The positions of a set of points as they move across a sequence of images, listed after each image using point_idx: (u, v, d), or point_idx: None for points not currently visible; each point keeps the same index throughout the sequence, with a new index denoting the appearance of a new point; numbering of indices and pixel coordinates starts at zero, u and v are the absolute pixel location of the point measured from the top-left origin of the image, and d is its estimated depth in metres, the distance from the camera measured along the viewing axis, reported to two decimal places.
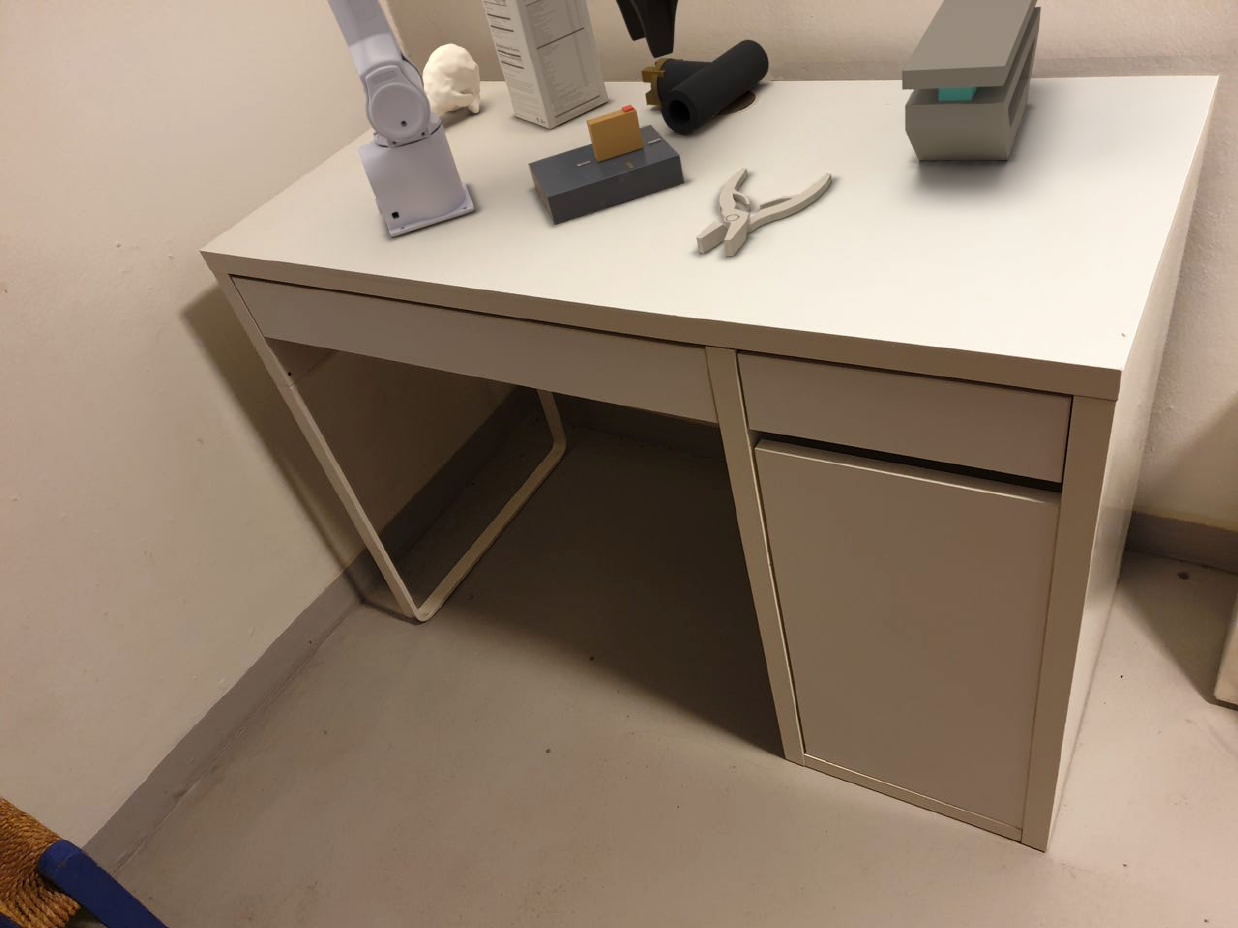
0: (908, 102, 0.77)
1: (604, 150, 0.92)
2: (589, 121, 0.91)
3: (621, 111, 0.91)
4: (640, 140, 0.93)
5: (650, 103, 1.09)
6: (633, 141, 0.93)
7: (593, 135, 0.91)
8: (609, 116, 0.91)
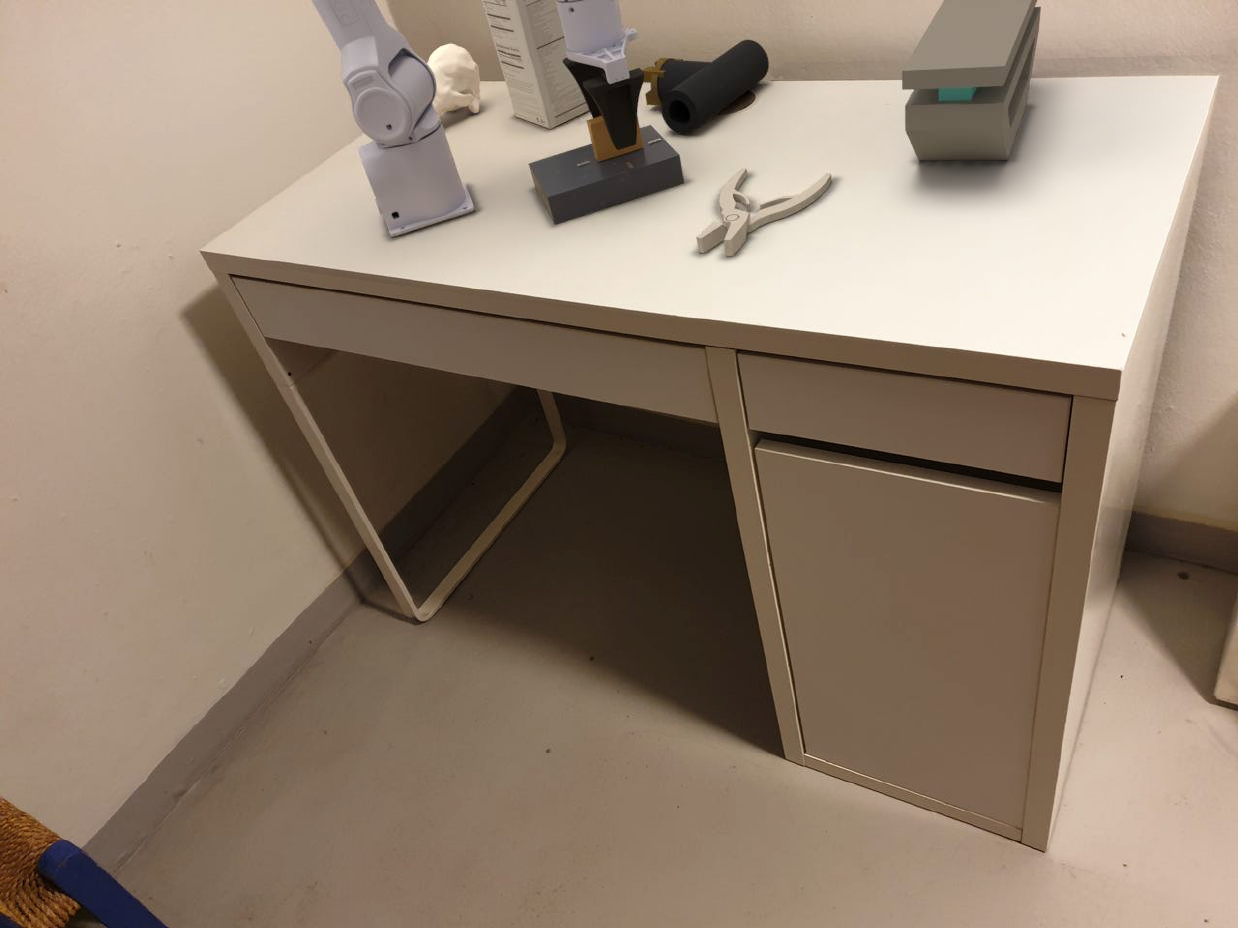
0: (908, 102, 0.77)
1: (604, 150, 0.92)
2: (589, 121, 0.91)
3: None
4: (640, 140, 0.93)
5: (650, 103, 1.09)
6: None
7: (593, 135, 0.91)
8: None
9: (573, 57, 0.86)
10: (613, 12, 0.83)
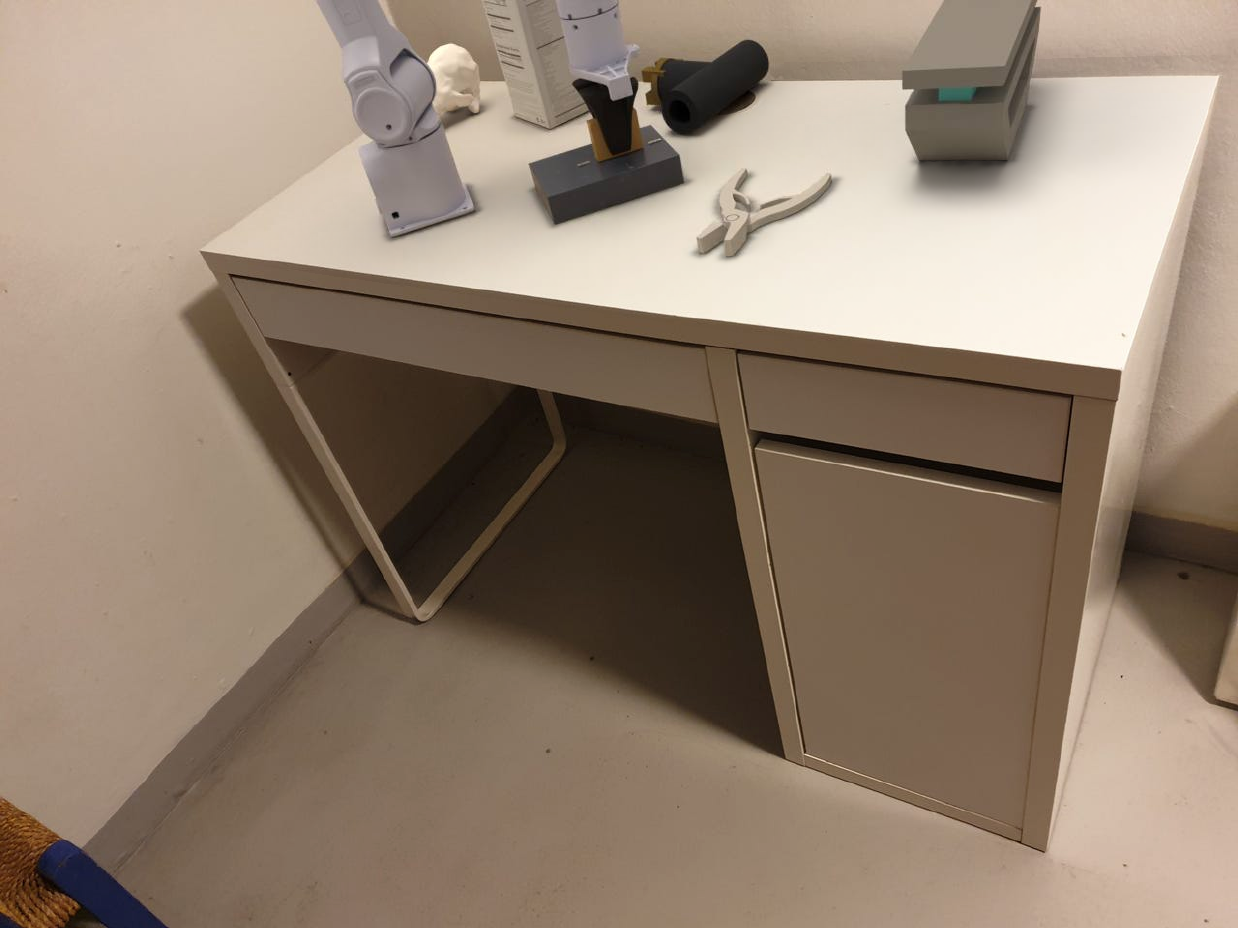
0: (908, 102, 0.77)
1: (604, 150, 0.92)
2: (589, 121, 0.91)
3: None
4: (640, 140, 0.93)
5: (650, 103, 1.09)
6: (633, 141, 0.93)
7: (593, 135, 0.91)
8: None
9: (577, 73, 0.86)
10: (617, 29, 0.84)
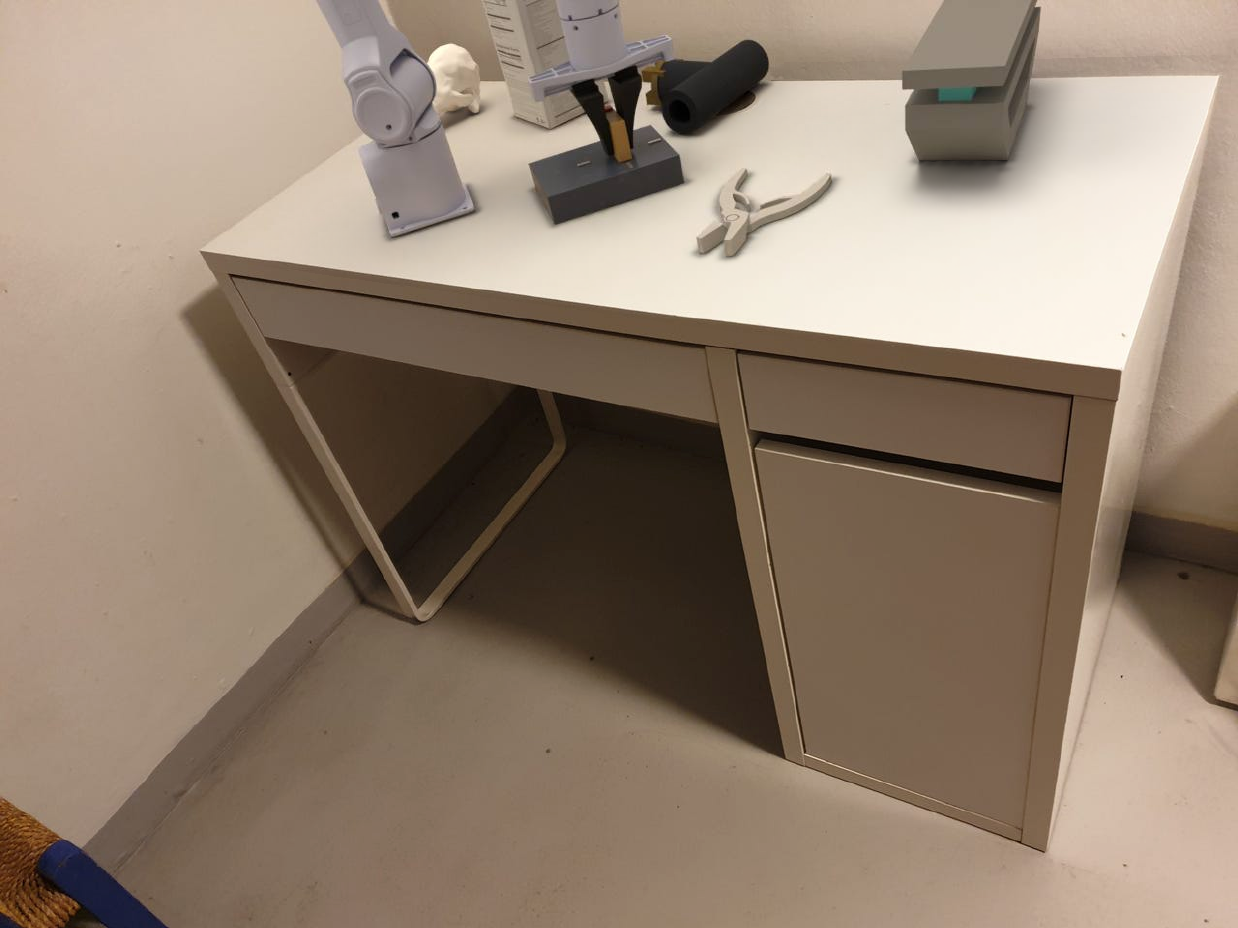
0: (908, 102, 0.77)
1: None
2: (616, 122, 0.89)
3: (607, 112, 0.92)
4: None
5: (650, 103, 1.09)
6: None
7: (626, 131, 0.90)
8: (613, 115, 0.91)
9: (621, 65, 0.86)
10: None
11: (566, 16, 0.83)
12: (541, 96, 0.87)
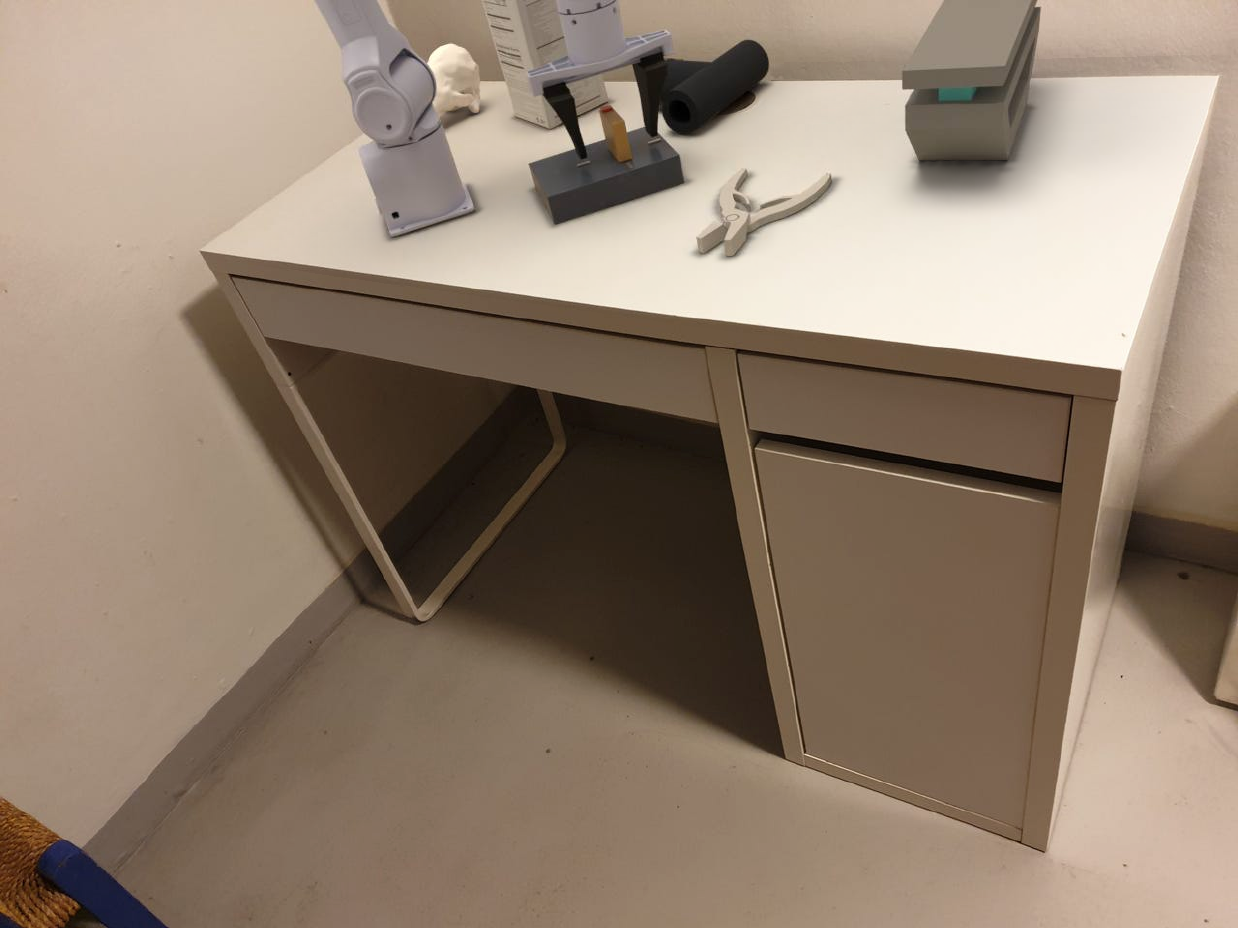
0: (908, 102, 0.77)
1: None
2: (616, 122, 0.89)
3: (607, 112, 0.92)
4: None
5: None
6: None
7: (626, 131, 0.90)
8: (613, 115, 0.91)
9: (620, 59, 0.86)
10: None
11: (565, 10, 0.83)
12: (539, 90, 0.87)
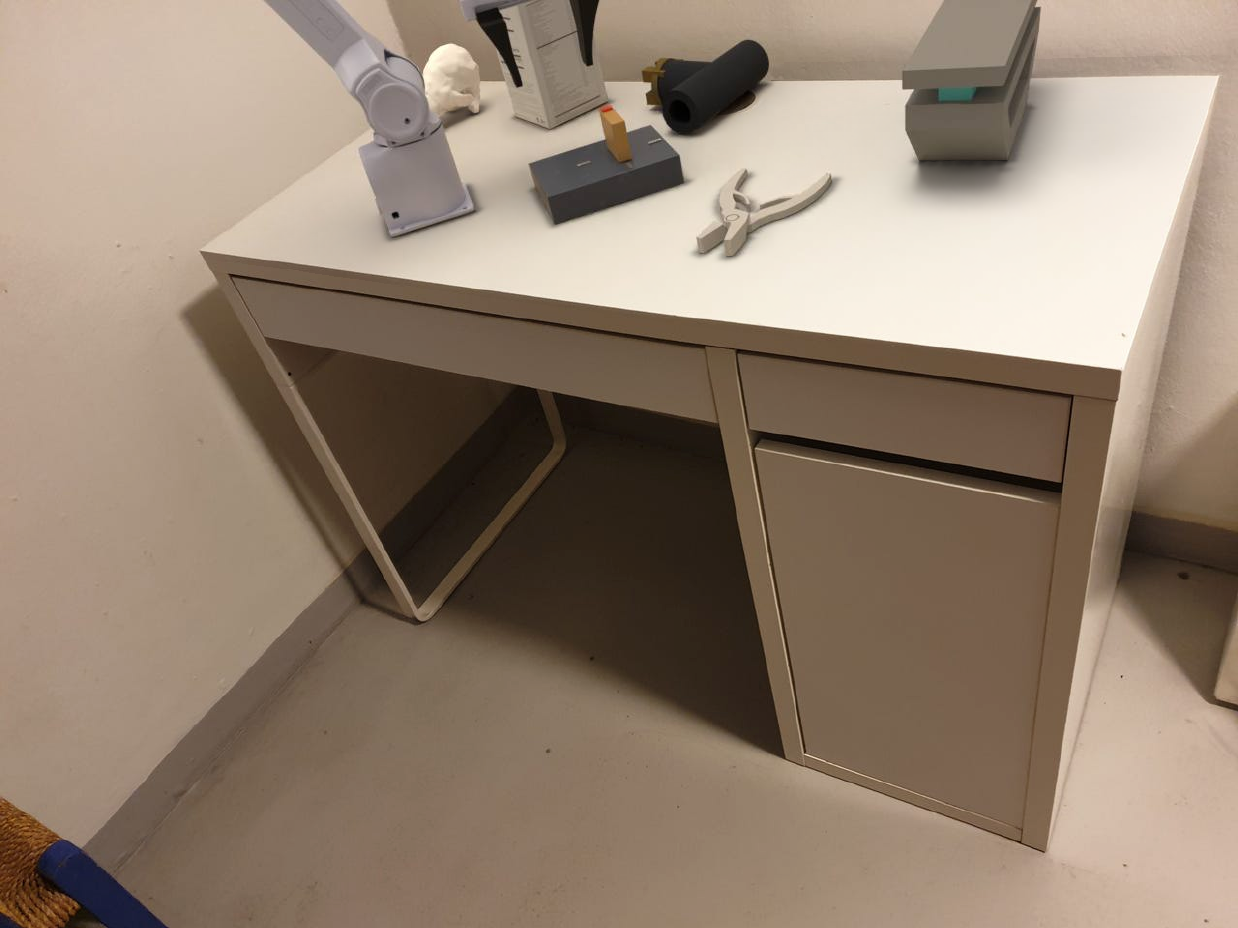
0: (908, 102, 0.77)
1: None
2: (616, 122, 0.89)
3: (607, 112, 0.92)
4: None
5: (650, 103, 1.09)
6: None
7: (626, 131, 0.90)
8: (613, 115, 0.91)
9: None
10: None
11: None
12: (472, 15, 0.88)
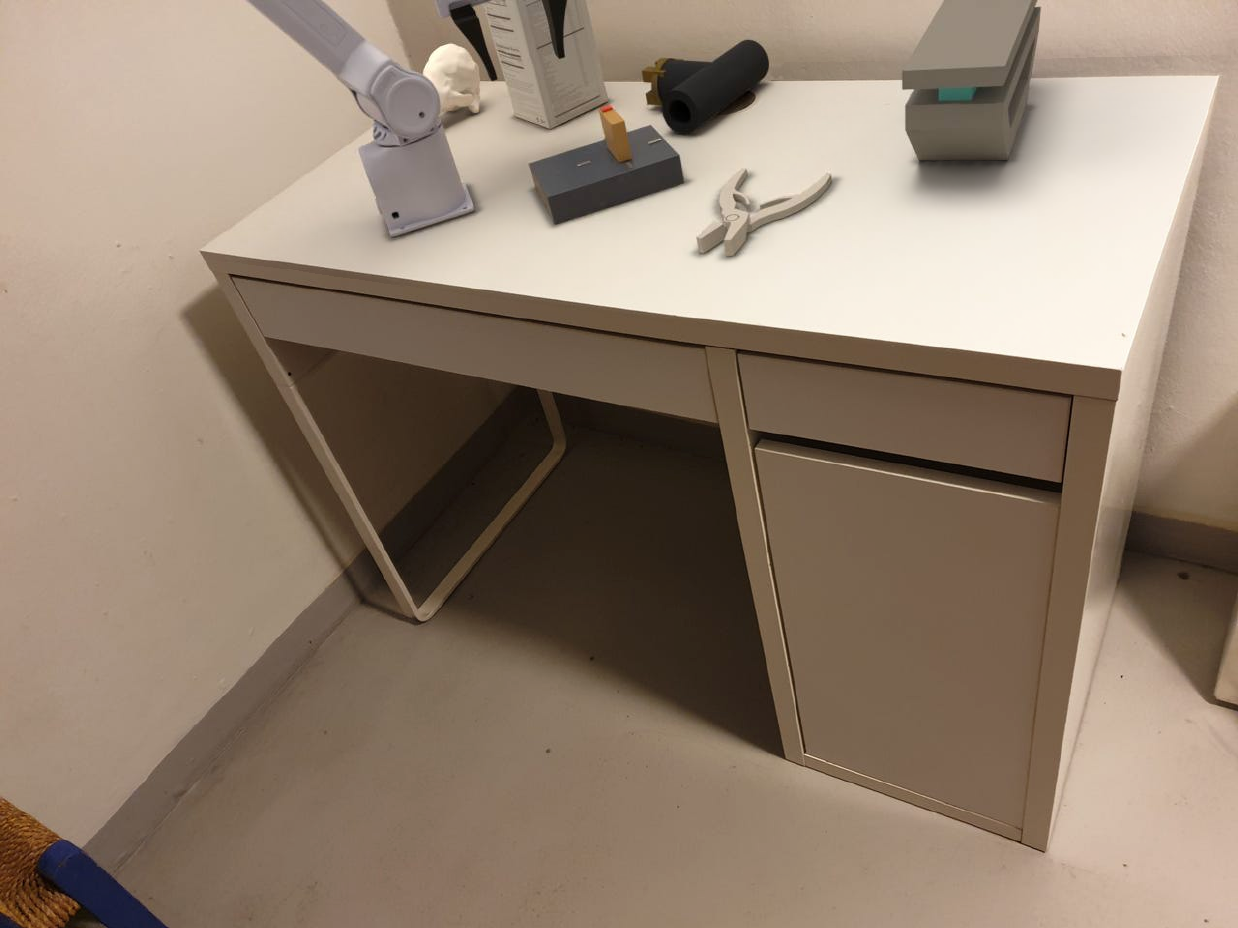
0: (908, 102, 0.77)
1: None
2: (616, 122, 0.89)
3: (607, 112, 0.92)
4: None
5: (650, 103, 1.09)
6: None
7: (626, 131, 0.90)
8: (613, 115, 0.91)
9: None
10: None
11: None
12: (446, 12, 0.92)
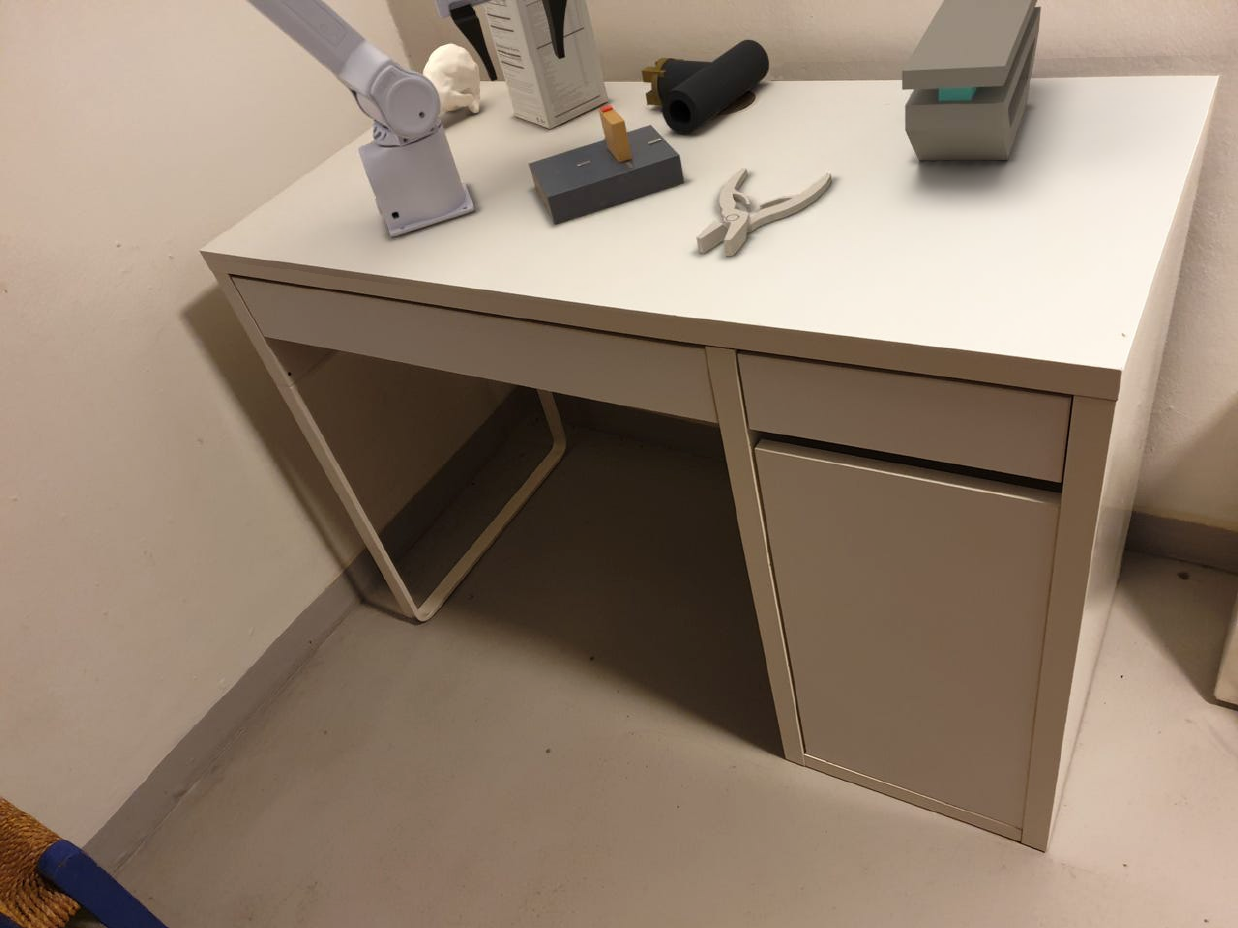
0: (908, 102, 0.77)
1: None
2: (616, 122, 0.89)
3: (607, 112, 0.92)
4: None
5: (650, 103, 1.09)
6: None
7: (626, 131, 0.90)
8: (613, 115, 0.91)
9: None
10: None
11: None
12: (446, 12, 0.92)
